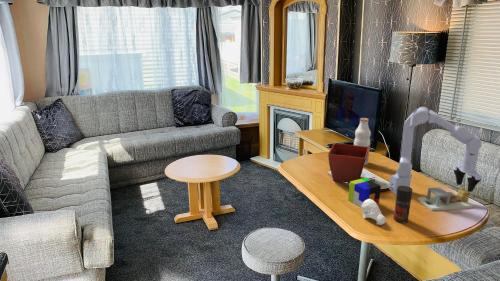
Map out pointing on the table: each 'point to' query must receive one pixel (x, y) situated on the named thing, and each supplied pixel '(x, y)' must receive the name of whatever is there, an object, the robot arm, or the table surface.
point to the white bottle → (363, 136)
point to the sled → (457, 196)
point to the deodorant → (402, 204)
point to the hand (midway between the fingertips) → (464, 187)
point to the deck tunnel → (437, 204)
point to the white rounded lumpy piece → (372, 211)
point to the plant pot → (347, 162)
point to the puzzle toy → (363, 191)
